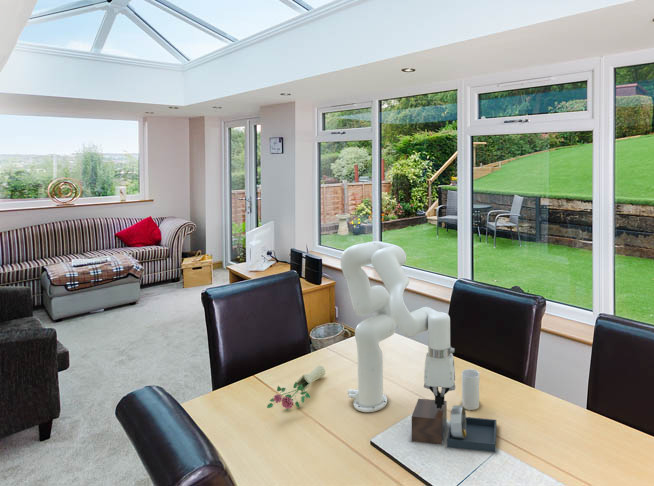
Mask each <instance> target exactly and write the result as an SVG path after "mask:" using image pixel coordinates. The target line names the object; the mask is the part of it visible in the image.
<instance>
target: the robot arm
mask: <svg viewBox="0 0 654 486" xmlns="http://www.w3.org/2000/svg"><path fill="white" fill-rule="evenodd" d="M406 261H407V254H406V252H405V250H404V249H403V248H402V247H401V246H399V245H397V244H393V243H389V242H384V241H380V240H373V241H367V242H363V243H357V244H354V245H351V246H349V247H347V248H345V250H344V251H343V252H342V253H341V257H340V268H341V272H342V274H343V276H344V279H345V281H346V284H347V285H346V286H347V290H348V293H349V297H350V302H351V305H352V310H353V312H354V314H355V315H356V316H358V317H365V316H368V315H370V314H373V313H374V315H372V316H371V317H368V318H366V319H365V318H364V319H363V320H362V321H360V322H359V323H357V325H356V327H355V330H354V339H355V343H356V351H357V388H356V389H352V388H348V390H347V396H348V397H347V398H349V399H354V400H353V407H354V409H355V410H356V411H359V412H363V413H374V412H377V411H380V410H382V409H384V408H385V407H386V405H387V404H388V397H387V395H386V394H385V393H384V355H383V351H382V349H381V347H380V345H379V344H380V343H381V342H382V341H385V340H386V339H388V338H390V337H392V336H393V335H394V334H395V333H396V331H397V328H398V329H399V330H400V332H401V333H402V334H403V335H404V336H406V337H409V338H413V337H417V336H418V335H421V334H422V333H424V332H426V331H427V352H426V354H425V355H426V356H425V361H424V369H423V370H424V371H423V382H424V383H423V388H424V389H427V390H429V391H430V392H432V394H433V396H434V400H435V404H437V408H440V409H442V405H444V401H445V395H446V394H447V393H448V392H451V391H455V390H456V383H455V381H456V368H455V367H456V366H455V360H454V359H455V358H454V354H453V353H455V351H456V348H455V347H452V345H451V317H450V315H449V313H446V312H444V311H437V310H436V309H433V308H431V307H429V306H422V307H420V308H418V309H414V310H412V311H409V309H408V307H407V306H406V303H405V301H404V291H405V289H406V288H407V287H408V285H409V284H410V279H409V276H408V275H407V273H406V272H405V270H404V269H403V268H402V267H403V266H404V264H406ZM368 265H372V267H373V269H374V271H375V272H376V273H377V275H378V276H379V278H380V280H381V281H382V283H383V284H384V286H383V285H379V284H378V285H373V286H371V283H370V278H369V275H368V274H367V273H366V271H365V270H364V269H363V268H362V267H363V266H368ZM439 388H441V389H440V390H439Z"/></svg>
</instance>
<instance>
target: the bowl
mask: <svg viewBox="0 0 654 486" xmlns="http://www.w3.org/2000/svg"><path fill="white" fill-rule="evenodd" d="M466 417H467V414H466V409H465V408H464V406H463V405H453V406H452V407H451V410H450V425H451V434H452V438H453V439H459V440H464V439H465V437H463V434H462V429H464V430H465V431H466Z"/></svg>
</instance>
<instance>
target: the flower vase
mask: <svg viewBox="0 0 654 486" xmlns="http://www.w3.org/2000/svg"><path fill="white" fill-rule="evenodd" d="M325 374H326V368H325V367H324V366H322V365H317V366H316V367H315V368H314V369H313V370H312V371H311V372H309V373H307V374H302V376H300V377H299V379H298V380H297V381H295V382H294V383H293V389H294V390H292V391H288V392H285V391H286V388H287V387H281V386H279V385H277V388H276V392H279V393H280V394H279V393H278V394H277V393H276V394H274V396H273V397H272V398H271V399H269V402H270V403H268V404H267V406H266V408H267V409H271V408H273V406H274V403H275V404H279V403H281V406H282V408H284V409H285V411H289V410H290V409H292V408H294V405H295V406H296V408H298V409H300V406H301V405H300V403H299V401H298V400H297V399H296V397H295V396H296V394H300V395H302V396H300V401H301V403H302V404H305V399H306V398H307V399H311V398H312V397H311V395H310V393H309V392H308V391H306V390H307V389H308V388H309V387H310V386H311V385H312V384H313V383H314V382H315V381H317V380H320V379H321V378H324V376H325ZM284 392H285V393H284ZM293 392H294V393H293ZM291 393H293V394H291ZM293 397H294V398H293ZM294 400H296V401H295V402H294Z"/></svg>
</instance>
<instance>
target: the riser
mask: <svg viewBox="0 0 654 486" xmlns="http://www.w3.org/2000/svg"><path fill="white" fill-rule="evenodd" d="M447 405H448V402H447V400H444V405H442V409H440V408H437V404H435V399H428V398H418V399H417V401H416V404H415V407H414V409H413V412H412V415H411V442H413V443H415V442H416V443H423V444H435V445H443V442H444V441H443V440H444V437H445V435H446V428H447V425H448V415H447V413H448V410H447V409H448V408H447V407H448V406H447Z"/></svg>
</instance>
